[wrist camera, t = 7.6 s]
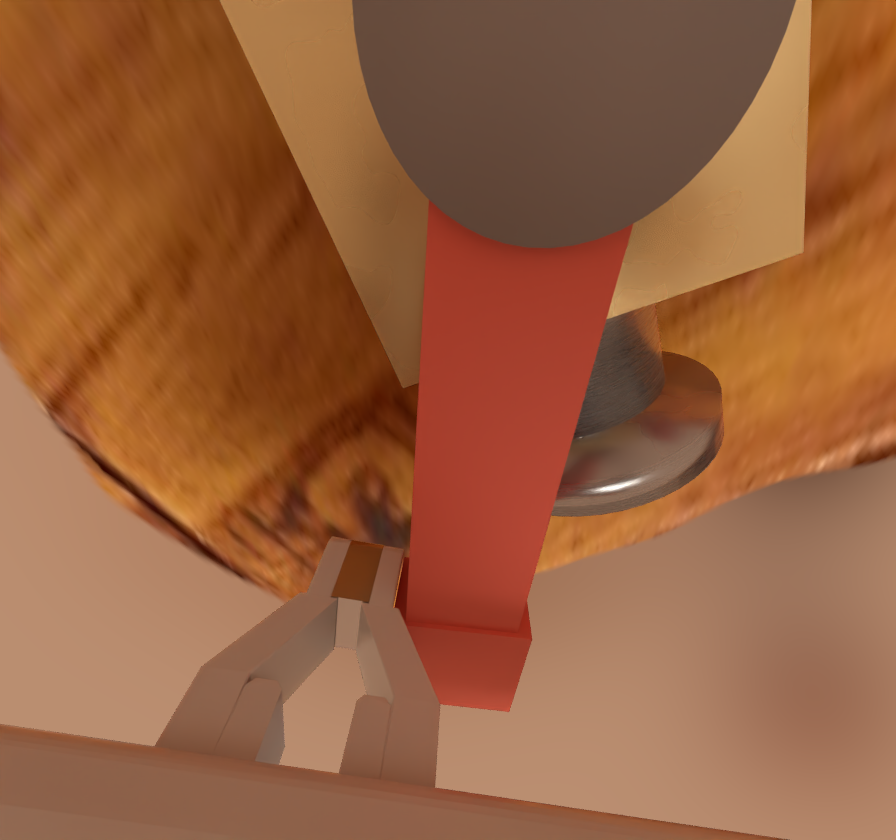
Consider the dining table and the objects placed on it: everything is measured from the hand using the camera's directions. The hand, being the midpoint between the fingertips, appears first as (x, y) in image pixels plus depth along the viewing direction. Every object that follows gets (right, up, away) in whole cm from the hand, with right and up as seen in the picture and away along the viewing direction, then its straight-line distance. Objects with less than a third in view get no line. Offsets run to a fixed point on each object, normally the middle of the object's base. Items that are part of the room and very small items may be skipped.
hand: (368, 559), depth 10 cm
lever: (+3, +4, -2) cm, 5 cm away
